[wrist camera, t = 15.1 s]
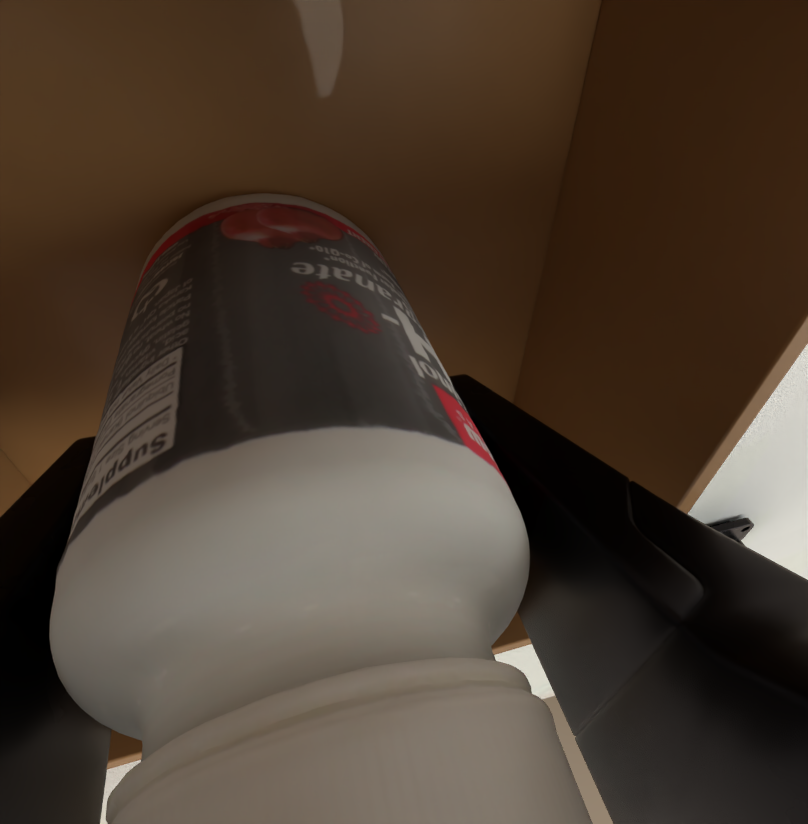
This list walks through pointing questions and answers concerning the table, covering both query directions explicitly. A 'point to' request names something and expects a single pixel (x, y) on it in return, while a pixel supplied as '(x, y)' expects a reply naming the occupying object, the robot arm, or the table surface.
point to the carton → (429, 199)
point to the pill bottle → (298, 550)
